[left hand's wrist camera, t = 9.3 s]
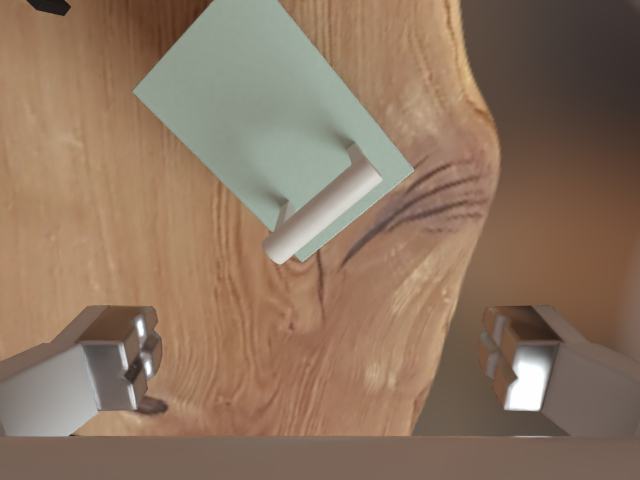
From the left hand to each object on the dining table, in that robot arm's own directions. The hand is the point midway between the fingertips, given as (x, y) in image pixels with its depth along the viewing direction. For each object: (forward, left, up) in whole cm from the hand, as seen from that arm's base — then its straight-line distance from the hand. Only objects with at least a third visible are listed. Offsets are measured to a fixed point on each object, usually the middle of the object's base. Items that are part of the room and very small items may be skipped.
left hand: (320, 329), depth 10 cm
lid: (-1, +4, -16) cm, 17 cm away
